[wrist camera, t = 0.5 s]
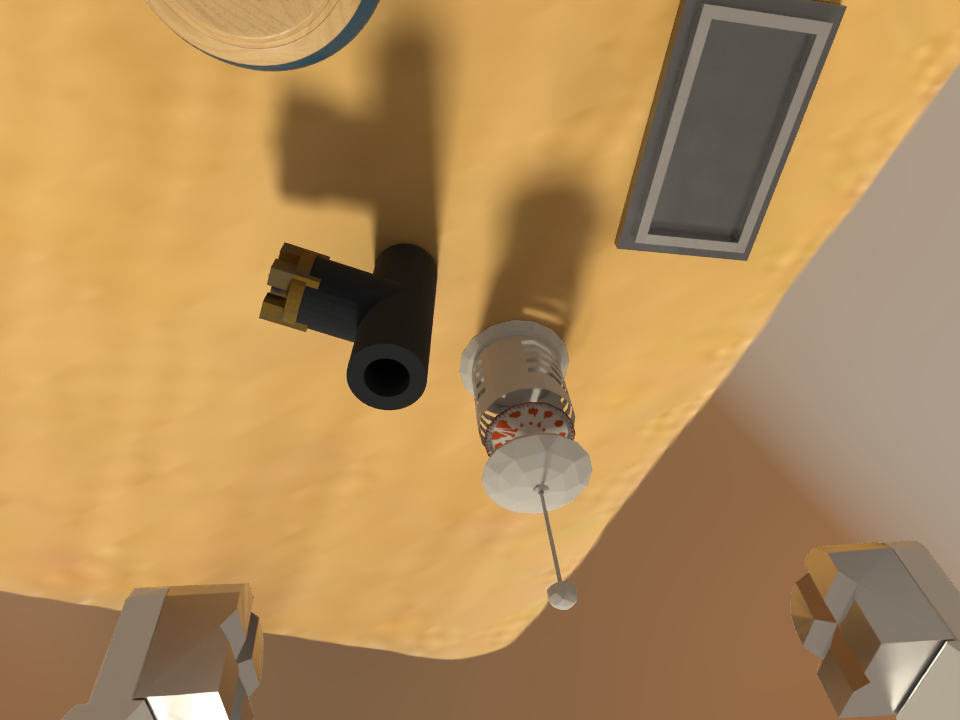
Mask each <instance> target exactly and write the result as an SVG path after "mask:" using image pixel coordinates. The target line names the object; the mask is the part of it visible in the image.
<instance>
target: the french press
mask: <svg viewBox="0 0 960 720" xmlns="http://www.w3.org/2000/svg"><path fill="white" fill-rule="evenodd" d="M568 363H569V358H568V354H567V350H566V345H565V343H564V342H563V341H562V340H561V339H560V337H559V336H558V335H557V334H556V333H555V332H554V330H552V329H550V328H548V327H546V326H544V325H541V324H539V323H537V322H535V321H523V320H510V321H506V322H502V323H499V324H495V325H491V326H490V327H488V328H487V329H485V330H484V331H482V332H481V333H479V334H478V335H476V336H475V337H473V339H472V340H471V342H470V343H469V344H468V346H467V347H466V349H465V350H464V352H463V353H462V358H461V364H460V371H459V372H460V375H461V378H462V381H463V383H464V386H465V388H466V389H467V390H468V391H469V392H470V393H471V394H472V395H473V396H474V400H476V401H475V405H476V406H477V407H476V409H477V411H476V413H477V414H476V416H477V423H478V430H479V434H480V437H481V441H482V444H483V445H484V446H485V448H486V451H487V453H488V456H489V457H490V458H489V460H488V461H487V462H486V464H485V468H484V472H483V477H482V482H483V485H484V488H485V491H486V494H487V495H488V496H489V497H490V498H491V499H492V500H493V501H494V502H495V503H497V504H498V505H499V506H501V507H503V508H506V509H509V510H512V511H514V512H519V513H536V514H539V513H543V512H544V516H545V521H546V526H547V531H548V535H549V540H550V545H551V550H552V555H553V559H554V564H555V569H556V574H557V579H558V582H557V583H555V584H553V585H551V586H550V588H549V589H548V590H547V594H548V600H549V602H550V603H551V605H552V606H553V607H555V608H557V609H559V610H567V609H570V608H571V607H572V606H573V605H574V604H575V603H576V602H577V601H578V593H577V588H576V586H575V584H573V583H571V582H568V581H562V579H561V574H560V570H559V565H558V560H557V556H556V551H555V546H554V541H553V537H552V532H551V527H550V523H549V518H548V513H547V511H551V510H555V509H559V508H560V507H562V506H564V505H566V504H567V503H569V502H571V501H573V500H574V499H576V498H577V497H578V495H579V494H580V493H581V492H582V491H583V490H584V489H585V487H586V486H587V485H588V482H589V479H590V475H591V472H592V466H591V462H590V458H589V454H588V453H587V452H586V451H585V450H584V449H583V448H582V447H581V446H580V445H579V444H578V443H577V442H575V441H573V440H574V436H575V430H574V421H575V415H574V411H573V408H572V414H571V419H570V418H569V417H568V415H569V414H570V407H571V406H572V404H571V401H570V398H569V394H568V391H567V388H566V384H565V381H563V380H564V378H565V375H566V371H567V367H568ZM562 384H563V388H562V387H561V385H562ZM565 389H566V391H565ZM562 397H563V398H564V401H563V402H562V404H561V398H562ZM477 401H478V405H477ZM567 402H568V403H569V404H568V409H567V410H566V411H565V412H564V411H563V408H564V407H565V405H566V404H567ZM485 411H489V412H491V413H493V414H498V415H497V416H496V417H495V418H494V417H492V416H490V415H487V414H485V413H484V412H485ZM482 415H483V416H484V418H485V419H487V420H490V421H492V422H491V423H490V424H487V423H486V422H485V421H484V420H483V418H482V417H481V416H482ZM480 421H481V422H482V423H483V424H484V426H485V427H486V428H487V429H486V430H485V429H484V428H483V427H482V426H481V424H480ZM480 429H481V430H482V431H483V433H484V434H485V438H484V436H483V435H482V434H481V430H480Z"/></svg>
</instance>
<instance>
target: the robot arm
mask: <svg viewBox="0 0 960 720" xmlns="http://www.w3.org/2000/svg"><path fill="white" fill-rule="evenodd" d="M804 564H805V566H806V568H807V570H808V572H809V573H807V574H806V575H805V576H803V577H802V578H801V579H799V580H798V581H797V582H795V585H794V588H793V591H792V594H791V596H790V602H791V616H792V620H793V623H794V627H795V630H796V632H797V634H798V636H799V638H800V641H801V643H802V645H803V646H804V647H805V648H807V649H808V650H809V651H810V652H812V653H813V654H814V655H816V656H817V657H818V658H820V662H819V666H818V670H817V675H818V677H819V679H820V681H821V683H822V685H823V687H824V689H825V691H826V693H827V695H828V697H829V699H830V701H831V703H832V705H833V707H834V709H835V711H836V713H837V715H838V717H839V718H843V717H862V716H881V715H897V717H896V719H897V720H960V593H959V591H958V590H957V589H956V588H955V586H954V585H953V583H952V582H951V581H950V579H949V578H948V577H947V575H946V574H945V573H944V571H943V570H942V569H941V567H940V566H939V565H938V563H937V562H936V561H935V559H934V558H933V556H932V555H931V554H930V552H929V551H928V550H927V549H926V547H924V546H923V545H922V544H920V543H919V542H917V541H900V542H886V543H878V542H872V543H859V544H846V545H833V546H820V547H815V548H814V549H812V550H811V551H809V552H808V555H807V557H806V559H805V561H804ZM253 599H254V597H253V594H252V591H251V588H250V585H249V583H239V584H214V585H188V586H163V587H145V588H134V590H133V591H132V592H131V594H130V595H129V596H128V598H127V599H126V601H125V603H124V606H123V609H122V612H121V614H120V617H119V620H118V622H117V625H116V628H115V631H114V633H113V636H112V639H111V641H110V644H109V647H108V650H107V652H106V655H105V658H104V660H103V663H102V666H101V669H100V671H99V674H98V677H97V679H96V682H95V685H94V688H93V690H92V693H91V696H90V698H89V701H88V703H87V704H78V705H75V706H74V707H73V708H72V709H71V710H70V711H69V712H68V713H67V714H66V715H65V716H64V717H63V718H62V719H61V720H253V718H254V715H253V712H252V708H251V705H250V702H249V699H248V697H249V696H250V695H251V694H252V692H253V691H254V690H255V689H256V688H257V687H258V686H259V683H260V676H261V670H262V662H263V635H262V627H261V623H260V619H259V617H258V616H257V615H255V614H253V613H252V612H251V609H252V604H253Z"/></svg>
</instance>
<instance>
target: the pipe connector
mask: <svg viewBox="0 0 960 720" xmlns="http://www.w3.org/2000/svg"><path fill="white" fill-rule="evenodd" d="M329 259H330V257H329V256H325V255H322V254H319V253H316V252H313V251H310V250H307V249H304V248H301V247H298V246H295V245H291V244H288V243H284V245H283V247H282V248H281V250H280V254H279V258H278V259H275V261H274V263H273V265H272V266H271V270H270V274H269V278H268V282H267V285H270V286H272V287H271V292H270V293H269V292H268V293H267V295H266V297H265V299H264V301H263V304H262V308H261V312H260V316H259V318H261V319H264V320H268V321H271V322H274V323H277V324H281V325H284V326H287V327H291V328H294V329H297V330H301V331H304V332H306V330H307V328H308V329H311V330H315V331H318V332H321V333H324V334H328V335H331V336H334V337H338V338H341V339H344V340H348V341H351V342H354V346H353V349H352V353H351V357H350V360H349V364H348V368H347V382H348V385H349V387H350V389H351V391H352V392H353V394H354V395H355V396H356V397H357V398H358V399H359V400H360V401H362V402H363V403H365V404H367V405H368V406H371V407H374V408H377V409H381V410H397V409H402V408H405V407H407V406H409V405H411V404H413V403H414V402H416V401H417V400H418V399H419V398H420V397H421V395H422V394H423V392H424V390H425V387H426V384H427V375H428V365H429V355H430V345H431V335H432V325H433V315H434V305H435V295H436V285H437V267H436V264H435V262H434V260H433V258H432V257H431V255H430V254H428V253H427V252H426V251H425V250H424V249H422V248H420V247H418V246H415V245H411V244H397V245H394V246H391V247H389V248H388V249H386V250H385V251H384V252H382V253H381V255H380V256H379V257H378V259H377V262H376V265H375V268H374V272H373V274H371V273H368V272H365V271H362V270H359V269H356V268H353V267H350V266H347V265H344V264H340V263H337V262H334V261H331V260H329Z"/></svg>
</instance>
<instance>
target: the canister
mask: <svg viewBox="0 0 960 720" xmlns="http://www.w3.org/2000/svg"><path fill="white" fill-rule="evenodd" d="M144 1H145V2H146V3H147V5H148V6H149V7H150V8H151V9H152V10H153V12H154V13H155V14H156V15H157V16H158V17H159V18H160V19H161V20H162V21H163V22H164V23H165V24H166V25H167V26H168V27H169V28H170V29H171V30H172V31H173V32H175V33H176V34H177V35H178V36H180V37H181V38H182V39H183V40H185V41H186V42H188V43H189V44H191V45H192V46H193V47H195V48H197V49H198V50H200V51H202V52H203V53H205V54H207V55H209V56H211V57H213V58H215V59H218V60H220V61H223V62H225V63H228V64H231V65H234V66H237V67H241V68H245V69H251V70H258V71H288V70H294V69H299V68H303V67H307V66H310V65H313V64H316V63H318V62H320V61H322V60H325V59H326V58H328V57H330V56H332V55H333V54H335V53H336V52H338V51H340V50H341V49H342V48H343V47H345V46H346V45H347V44H348V43H349V42H350V41H352V40H353V39H354V38H355V37H356V36H357V34H358V33H359V32H360V31H361V30H362V29H363V27H364V26H365V25H366V23H367V22H368V21H369V19H370V17H371V16H372V14H373V13H374V11H375V9H376V7H377V5H378V3H379V1H380V0H144Z"/></svg>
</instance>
